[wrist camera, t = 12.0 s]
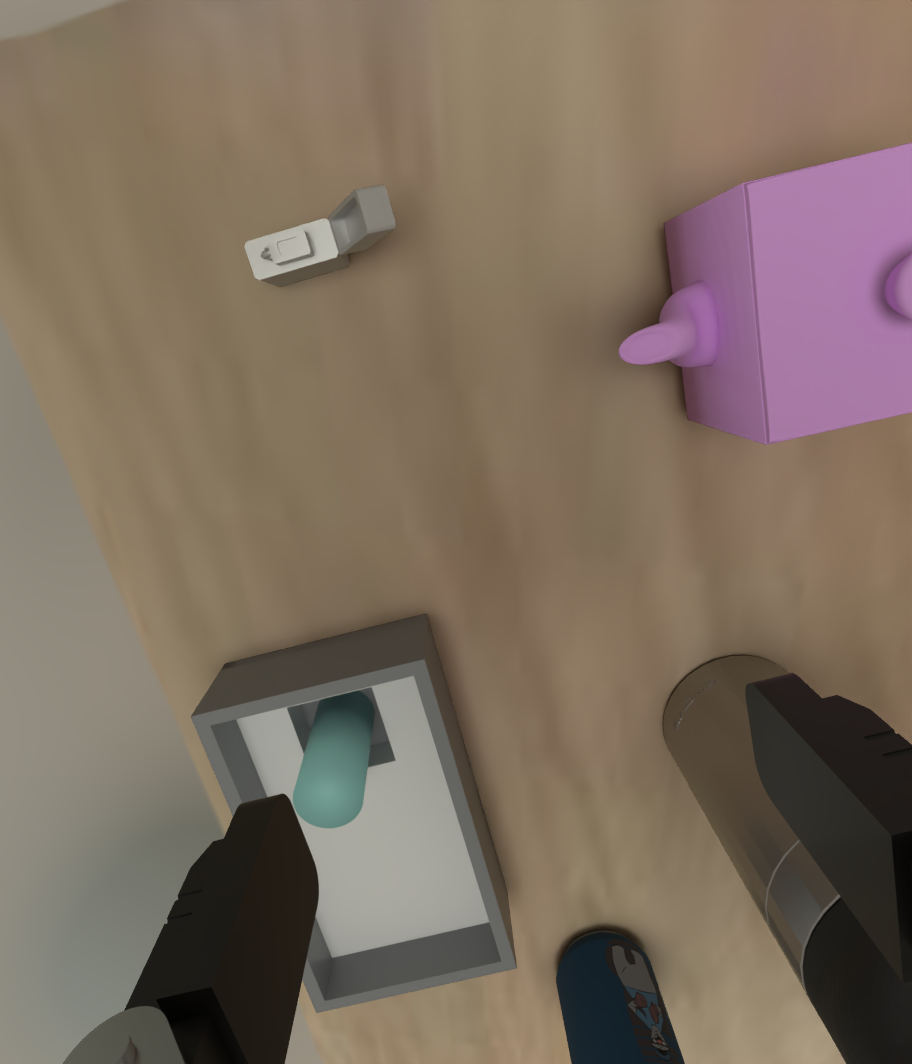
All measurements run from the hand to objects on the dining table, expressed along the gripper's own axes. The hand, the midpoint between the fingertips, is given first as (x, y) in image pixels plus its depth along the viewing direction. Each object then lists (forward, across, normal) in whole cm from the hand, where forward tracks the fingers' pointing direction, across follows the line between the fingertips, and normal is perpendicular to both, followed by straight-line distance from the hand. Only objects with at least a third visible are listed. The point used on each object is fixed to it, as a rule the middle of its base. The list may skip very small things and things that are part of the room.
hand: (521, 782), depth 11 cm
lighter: (+28, +4, -13) cm, 31 cm away
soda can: (+28, -1, +38) cm, 48 cm away
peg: (+27, +11, +13) cm, 32 cm away
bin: (+28, +11, +19) cm, 36 cm away
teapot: (+28, -17, -5) cm, 34 cm away
